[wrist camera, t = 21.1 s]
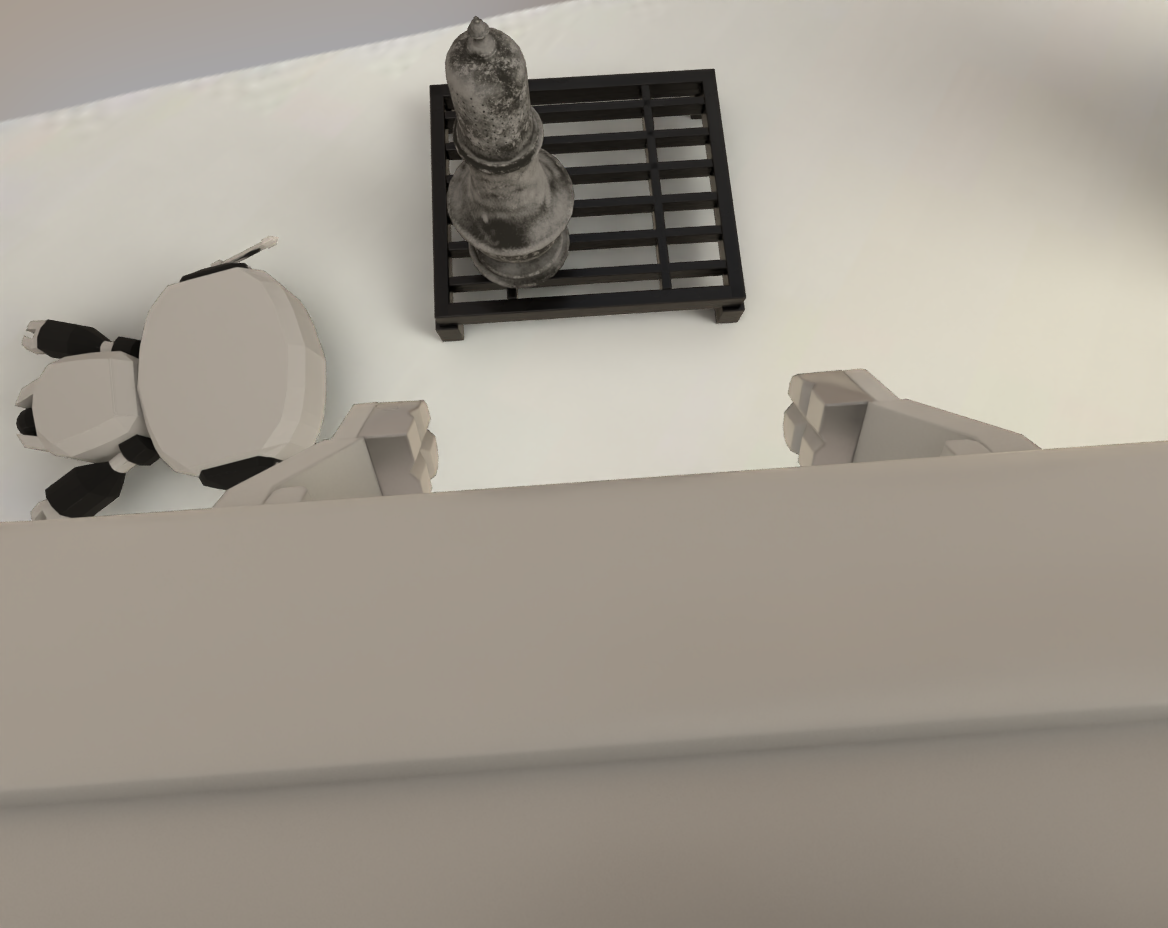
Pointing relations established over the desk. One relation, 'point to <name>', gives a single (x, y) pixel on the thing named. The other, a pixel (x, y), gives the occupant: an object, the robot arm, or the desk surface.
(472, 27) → the grey stone turned piece
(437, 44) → the desk surface
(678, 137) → the grate
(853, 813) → the robot arm
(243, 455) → the robot toy
